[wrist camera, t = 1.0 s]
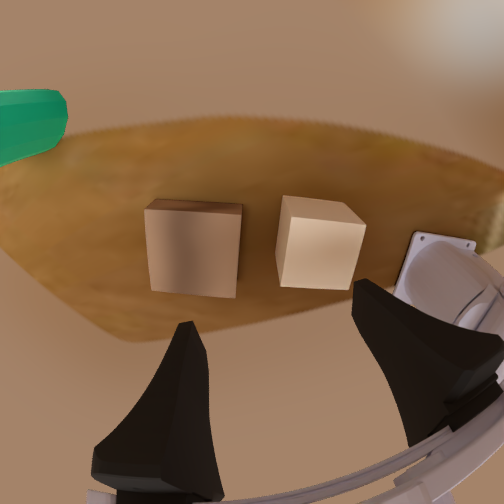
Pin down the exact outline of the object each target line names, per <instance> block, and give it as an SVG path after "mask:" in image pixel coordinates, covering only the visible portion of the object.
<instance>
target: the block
mask: <svg viewBox="0 0 504 504" xmlns="http://www.w3.org/2000/svg"><path fill="white" fill-rule="evenodd" d="M365 229H366V224H365V223H364V222H363V221H362V220H361V219H360V218H359V217H358V216H357V215H356V214H355V213H354V212H353V211H352V210H351V209H350V208H349V207H348V206H347V205H346V204H345V203H344V202H336V201H329V200H321V199H312V198H304V197H295V196H286V195H283V197H282V205H281V213H280V220H279V228H278V235H277V242H276V249H275V257H276V263H277V269H278V275H279V281H280V286H281V287H298V288H316V289H337V290H348V289H349V286H350V283H351V280H352V276H353V273H354V270H355V266H356V263H357V259H358V256H359V252H360V248H361V245H362V241H363V237H364V233H365Z"/></svg>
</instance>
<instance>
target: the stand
mask: <svg viewBox="0 0 504 504" xmlns="http://www.w3.org/2000/svg"><path fill="white" fill-rule="evenodd" d="M144 214H145V230H146V243H147V254H148V265H149V274H150V282H151V290H152V291H161V292H171V293H181V294H191V295H202V296H213V297H225V298H235V297H236V283H237V270H238V256H239V243H240V229H241V217H242V204H231V203H216V202H200V201H181V200H158V199H155V200H154V201H153V202H152V203H150V204H149V205H148V206H147V207H146V208H145V209H144Z"/></svg>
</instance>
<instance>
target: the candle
mask: <svg viewBox="0 0 504 504" xmlns="http://www.w3.org/2000/svg"><path fill="white" fill-rule="evenodd" d="M67 119H68V114H67V106H66V101H65V99H64V98H63V97H62V95H61V94H60V93H59V91H55V90H49V89H27V90H5V91H0V167H2V166H4V165H7V164H10V163H12V162H15V161H18V160H21V159H24V158H27V157H30V156H33V155H36V154H40V153H43V152H45V151H48V150H50V149H52V148H54V147H55V146H56V145H57V143H58V142H59V141H60V139H61V138H62V136H63V135H64V132H65V127H66V123H67Z"/></svg>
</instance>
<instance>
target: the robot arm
mask: <svg viewBox="0 0 504 504" xmlns="http://www.w3.org/2000/svg"><path fill="white" fill-rule="evenodd" d="M422 236H423V237H422ZM421 237H422V238H421ZM420 238H421V239H420ZM475 247H476V242H475V241H473V240H468V239H462V238H456V237H450V236H444V235H438V234H432V233H425V232H419V231H417V232H415V233H414V234H413V237H412V240H411V243H410V246H409V249H408V252H407V255H406V258H405V261H404V264H403V267H402V270H401V273H400V275H399V278H398V281H397V284H396V286H395V289H394V291H393V294H390V293H389V292H387V291H386V290H384V289H382V288H381V287H379V286H378V285H376V284H374V283H373V282H371V281H369V280H368V279H366V278H365V279H362V280H358V281H355V282H354V288H353V303H352V317H353V319H354V322H355V324H356V326H357V328H358V330H359V333H360V334H361V336H362V337H363V339H364V341H365V343H366V344H367V346H368V347H369V349H370V351H371V352H372V354H373V356H374V357H375V359H376V361H377V362H378V364H379V366H380V367H381V369H382V371H383V373H384V375H385V377H386V379H387V381H388V384H389V386H390V388H391V391H392V393H393V396H394V399H395V401H396V404H397V407H398V410H399V413H400V416H401V419H402V422H403V425H404V429H405V433H406V437H407V441H408V446H409V448H408V449H407V450H405V451H403V452H401V453H399V454H396V455H394V456H392V457H390V458H388V459H386V460H384V461H382V462H379V463H377V464H374V465H372V466H370V467H367V468H365V469H362V470H359V471H357V472H354V473H351V474H349V475H346V476H343V477H340V478H337V479H334V480H331V481H328V482H325V483H321V484H318V485H314V486H310V487H306V488H303V489H299V490H294V491H289V492H285V493H280V494H275V495H270V496H264V497H257V498H250V499H242V500H233V501H221V500H222V499H223V498H224V496H225V495H224V492H223V488H222V484H221V480H220V476H219V472H218V467H217V463H216V458H215V453H214V447H213V441H212V435H211V428H210V420H209V370H208V361H207V354H206V349H205V347H204V345H203V343H202V341H201V339H200V336H199V334H198V332H197V329H196V327H195V325H194V323H193V321H188V322H183V323H179V325H178V326H177V329H176V331H175V333H174V336H173V338H172V340H171V343H170V345H169V347H168V350H167V351H166V353H165V356H164V358H163V360H162V362H161V364H160V366H159V368H158V369H157V371H156V373H155V375H154V377H153V379H152V381H151V382H150V384H149V385H148V387H147V389H146V390H145V392H144V393H143V395H142V396H141V398H140V399H139V401H138V402H137V403H136V405H135V406H134V407H133V409H132V410H131V411H130V412H129V414H128V415H127V416H126V417H125V418H124V419H123V421H122V422H121V423H120V424H119V425H118V426H117V427H116V428H115V429H114V430H113V431H112V432H111V433H110V434H109V435H108V436H107V437H106V438H105V439H103V440H102V441H101V442H100V443H99V444H98V445H97V446H95V448H94V452H93V458H92V459H93V460H92V469H91V476H92V477H93V478H94V479H95V480H97V481H99V482H101V483H103V484H105V485H107V486H110V487H112V488H114V489H116V490H117V495H114V494H110V493H105V492H100V491H94V490H89V489H88V490H87V503H86V504H308V503H312V502H316V501H319V500H323V499H327V498H330V497H333V496H336V495H339V494H342V493H345V492H348V491H351V490H354V489H356V488H359V487H362V486H364V485H367V484H369V483H372V482H374V481H376V480H379V479H381V478H383V477H386V476H388V475H390V474H392V473H394V472H396V471H398V470H400V469H402V468H404V467H406V466H408V465H410V464H412V463H414V462H416V461H418V460H419V459H421V458H423V457H425V456H426V455H427V456H426V459H424V460H423V461H421V462H419V463H418V464H416V465H414V466H413V467H411V468H409V469H407V471H406V472H404V473H403V474H402V475H400V476H399V477H397V478H395V479H394V480H393V481H394V484H395V486H396V487H395V488H393V489H391V490H389V491H386V492H384V493H382V494H380V495H377V496H375V497H373V498H370V499H368V500H365V501H363V502H360V503H357V504H456V503H455V500H454V498H453V495H452V493H451V491H450V490H451V489H452V488H454V487H455V486H456V485H458V484H459V483H460V482H462V481H463V480H464V479H465V478H467V477H468V476H469V475H470V474H472V473H473V472H474V471H475V470H476V469H477V468H479V467H480V466H481V465H482V464H483V463H484V462H485V461H486V460H488V459H489V458H490V457H491V456H492V455H493V454H494V453H495V452H496V451H497V450H498V449H499V448H500V447H501V446H502V445H503V444H504V277H503V276H502V275H501V274H500V273H499V272H498V271H496V270H495V269H494V268H493V267H492V266H491V265H489V264H488V263H487V262H486V261H485V260H484V259H483V258H481V257H480V256H479V255H478V254H477V253H475V252H474V250H475ZM410 304H414V305H415V306H416V308H417V309H416V308H414V307H413V306H410ZM220 501H221V502H220Z"/></svg>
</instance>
